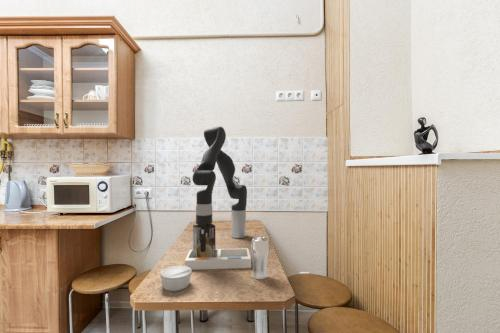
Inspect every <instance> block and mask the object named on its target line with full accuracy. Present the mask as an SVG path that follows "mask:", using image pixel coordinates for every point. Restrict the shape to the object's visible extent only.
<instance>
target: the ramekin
mask: <svg viewBox="0 0 500 333" xmlns="http://www.w3.org/2000/svg"><path fill="white" fill-rule="evenodd" d="M192 271H193V270H191V268H190V267H187V266H185V265H173V266H169V267H166V268H163V269H162V270H161V272H160V279H161V285H162V287H163V289H164V290H166V291H169V292H177V291H182V290H184V289H185V288H187V287H188V286H189V284H190V282H191V275H192Z"/></svg>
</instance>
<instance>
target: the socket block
mask: <svg viewBox="0 0 500 333" xmlns="http://www.w3.org/2000/svg"><path fill="white" fill-rule="evenodd" d="M184 266H187V267H190V268H191V270H192V271H198V270H223V269H224V270H230V269H231V270H234V269H251V268H252V256H251V253H250V250H249V248H248V247H245V248H241V247H240V248H239V247H238V248H216V257H196V258H193V249H189V251H188V254H187V255H186V257H185V259H184Z"/></svg>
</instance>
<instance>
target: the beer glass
mask: <svg viewBox="0 0 500 333" xmlns="http://www.w3.org/2000/svg"><path fill="white" fill-rule="evenodd" d="M250 250H251V261H252V264H253V266H252V267H253V269H252V274H251V275H252V278H253V279H255V280H261V281H262V280H265V279H267V278H268V270H267V265H268V260H269V253H270V251H269V250H270V247H269V238H268V237H265V236H264V237H263V236H255V237H252V239H251V249H250Z"/></svg>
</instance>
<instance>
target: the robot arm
mask: <svg viewBox="0 0 500 333" xmlns="http://www.w3.org/2000/svg"><path fill="white" fill-rule="evenodd" d="M203 137H204V140H205V142H206V144H207V146H208V148H207V150H206V151H205V152H204V153H203V155H202V158H201V161H200V164H199V165H198V166H197V168H196V169H195V170H194V171H193V174H192V177H191V178H192V182H193V184H194V185H195V186H206V188H204V189H203V190H202V189H201V190H198V191H197V192H196V205H195V225H201V229H200V241H199V242H200V243H201V252H205V251H206V238H207V233H206V225H207V224H208V225H209V224H213V191H214V186H215V183H216V180H217V175H216V173H215V172H214V170H215V168H216V163H217V166H218V169H219V172H220V174H221V176H222V179H223V181H224V183H225V186H226V189H227V193H228V195H229V197H230V198H231V199H233V200H238V202H237V203H235V204H232V205H231V222H230V223H231V226H230V227H231V232H230V234H231V235H230V237H231V238H233V239H243V238H246V235H247V234H246V231H247V228H246V226H247V225H246V224H247V222H246V220H247V219H246V218H247V215H246V214H247V210H246V209H247V201H248V200H247V199H248V189H247V186H246V185H245V184H235V182H234V175H235V174H236V166H235V164H234V161H233V159H232V158H231V156H230V155H228V154H227V153H226V152H225V151H223V150H222V148H223V146H224V144H225V142H226V138H227V136H226V130H225V129H224V127H222V126H214V127H211V128H207V129H204V131H203ZM202 234H203V235H202ZM202 238H204V240H202Z"/></svg>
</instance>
